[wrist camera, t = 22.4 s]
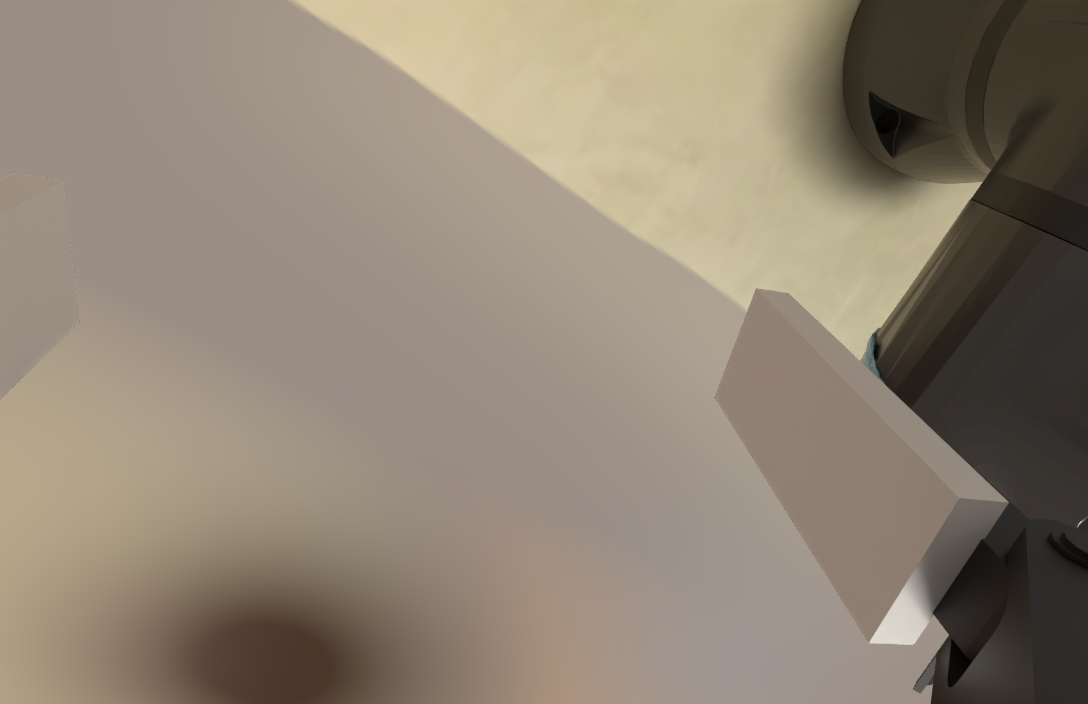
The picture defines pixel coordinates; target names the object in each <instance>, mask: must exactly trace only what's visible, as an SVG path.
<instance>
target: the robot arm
mask: <svg viewBox="0 0 1088 704" xmlns="http://www.w3.org/2000/svg"><path fill="white" fill-rule="evenodd" d="M843 93H844V101H845V106H846V111H847V114H848V118H849V120H850V123H851V126H852V128H853V130H854V132H855V134H856V136H857V137H858V139H859V141H860V142H861V143H862V145H863V146H864V147H865V148H866V149H867V151H868V152H869V153H870V154H871V155H873V156H874V157H875V158H876V159H877V160H879V161H880V162H882V163H883V164H885V165H887V166H889V167H891V168H893V169H895V170H897V171H900V172H902V173H904V174H906V175H909V176H911V177H914V178H916V179H920V180H924V181H928V182H935V183H944V184H955V183H973V182H983V183H982V184H981V186H980V187H979V188H978V190H977V191H976V193H975V194H974V196H973V197H972V198H971V200H969V202H968V203H967V205H966V206H965V208H964V209H963V210H962V212H961V213H960V215H959V216H958V218H957V219H956V221H955V222H954V224H953V225H952V227H951V228H950V229H949V231H948V232H947V234H946V235H945V237H944V238H943V240H942V241H941V243H940V244H939V245H938V247H937V248H936V250H935V251H934V253H933V254H932V256H931V257H930V259H929V260H928V262H927V263H926V264H925V266H924V267H923V269H922V270H921V272H920V273H919V275H918V276H917V278H916V279H915V280H914V282H913V283H912V285H911V286H910V288H909V289H908V291H907V292H906V294H905V295H904V296H903V298H902V299H901V301H900V302H899V303H898V305H897V306H896V308H895V309H894V310H893V312H892V313H891V315H890V316H889V317H888V319H887V320H886V322H885V323H884V324H883V326H882V327H881V328H878V329H877V330H876V331H875V332H874V333H873V334H872V336H871V337H870V338H869V341H868V344H867V349H866V352H865V353H864V355H863V357H862V359H861V360H860V361H859V360H858V359H857V358H856V357H855V356H854V355H853V354H852V353H851V352H850V351H849V350H848V349H847V348H846V347H845V346H844V345H842V344H841V343H840V342H839V341H838V340H837V339H836V338H835V337H834V336H833V335H832V334H831V333H830V332H829V331H828V330H827V329H826V328H825V327H823V326H822V325H821V324H820V323H819V322H818V321H817V320H816V319H815V318H814V317H813V316H812V315H811V314H810V313H809V312H808V311H807V310H806V309H805V308H803V307H802V306H801V305H800V304H799V303H798V302H797V301H796V300H795V299H794V298H793V297H792V296H791V295H790V294H789V293H783V292H776V291H770V290H763V289H757V288H756V290H755V293H754V295H753V298H752V301H751V303H750V306H749V308H748V311H747V314H746V317H745V319H744V322H743V324H742V327H741V329H740V332H739V335H738V337H737V340H736V342H735V345H734V348H733V350H732V353H731V356H730V358H729V361H728V363H727V366H726V369H725V372H724V374H723V376H722V379H721V382H720V384H719V387H718V390H717V393H716V395H715V399H716V401H717V402H718V404H719V405H720V407H721V409H722V410H723V412H724V413H725V415H726V416H727V418H728V420H729V421H730V423H731V424H732V426H733V428H734V429H735V431H736V432H737V434H738V435H739V437H740V439H741V440H742V442H743V444H744V445H745V447H746V448H747V450H748V451H749V453H750V455H751V456H752V458H753V459H754V461H755V463H756V464H757V466H758V467H759V469H760V471H761V472H762V474H763V475H764V477H765V479H766V480H767V482H768V483H769V485H770V486H771V488H772V490H773V491H774V493H775V495H776V496H777V498H778V499H779V501H780V502H781V504H782V506H783V507H784V509H785V510H786V512H787V514H788V515H789V517H790V518H791V520H792V522H793V523H794V525H795V526H796V528H797V530H798V531H799V533H800V534H801V536H802V537H803V539H804V541H805V542H806V544H807V545H808V547H809V549H810V550H811V552H812V553H813V555H814V557H815V558H816V559H817V561H818V563H819V565H820V566H821V568H822V569H823V571H824V573H825V574H826V576H827V577H828V579H829V581H830V582H831V584H832V585H833V587H834V588H835V590H836V592H837V593H838V595H839V596H840V598H841V600H842V601H843V603H844V604H845V606H846V608H847V609H848V611H849V612H850V614H851V615H852V617H853V619H854V620H855V622H856V623H857V625H858V627H859V628H860V630H861V631H862V633H863V634H864V636H865V638H866V639H867V641H868V642H869V643H881V644H906V645H914V644H915V642H916V640H917V639H918V638H919V636H920V635H921V633H922V631H923V630H924V629H925V627H926V626H927V624H928V623H929V621H930V620H931V618H932V617H933V615H935V617H936V618H937V619H938V620H939V622H940V623H941V625H942V626H943V627H944V628H945V630H946V631H947V632H948V634H949V636H948V638H947V639H946V640H945V642H944V643H943V645H942V646H941V648H940V649H939V650H938V652H937V653H936V655H935V656H934V658H933V659H932V660H931V662H930V663H929V665H928V666H927V668H926V669H925V671H924V672H923V673H922V675H921V676H920V678H919V679H918V680H917V682H916V684H915V686H914V688H913V689H914V690H915V691H917V692H919V693H921V692H922V691H923V689H924V688H925V687H926V685H932V684H933V689H932V697H931V704H1088V0H863V2H862V4H861V6H860V9H859V11H858V13H857V16H856V18H855V21H854V23H853V26H852V29H851V32H850V36H849V39H848V43H847V48H846V53H845V59H844V68H843ZM79 322H80V321H79V313H78V304H77V295H76V287H75V277H74V268H73V259H72V251H71V241H70V233H69V223H68V214H67V205H66V196H65V188H64V180H61V179H54V178H48V177H42V176H35V175H28V174H22V173H16V172H12V173H10V174H8V175H6V176H4V177H2V178H0V399H1V398H2V397H3V396H4V395H5V394H7V392H9V390H11V389H12V388H13V387H14V386H15V385H16V383H18V382H19V381H20V380H21V379H22V378H23V377H24V376H25V375H26V374H27V373H28V372H29V371H30V370H31V369H32V368H33V367H34V366H35V365H36V364H37V363H38V362H39V361H40V360H41V359H42V358H43V357H44V356H45V355H46V354H48V353H49V352H50V351H51V350H52V349H53V348H54V347H55V346H56V345H57V344H58V343H59V342H60V341H61V340H62V339H63V338H64V337H65V336H66V335H67V334H68V333H69V332H70V331H71V330H72V329H73V328H74V327H75V326H76V325H77V324H78V323H79Z"/></svg>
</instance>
